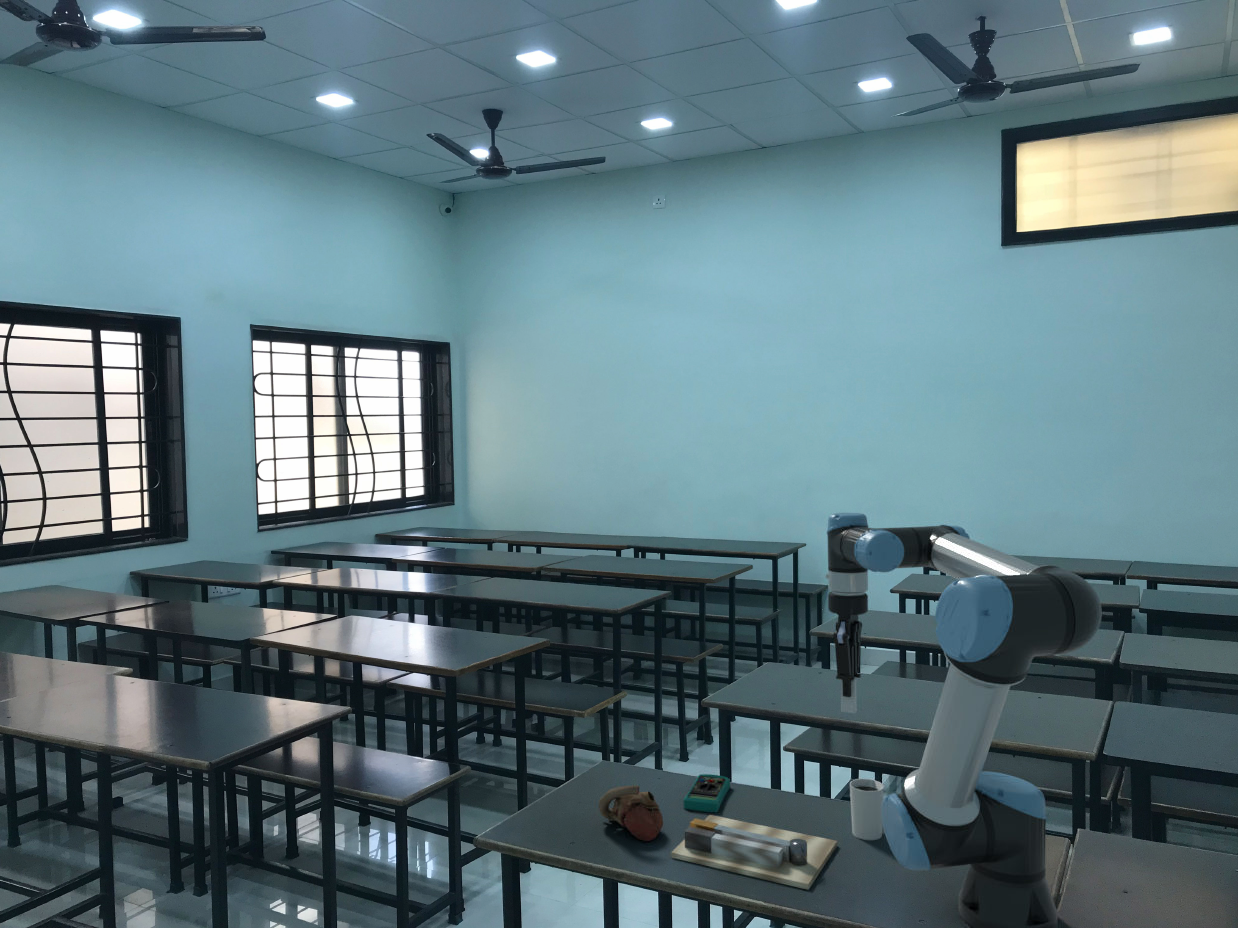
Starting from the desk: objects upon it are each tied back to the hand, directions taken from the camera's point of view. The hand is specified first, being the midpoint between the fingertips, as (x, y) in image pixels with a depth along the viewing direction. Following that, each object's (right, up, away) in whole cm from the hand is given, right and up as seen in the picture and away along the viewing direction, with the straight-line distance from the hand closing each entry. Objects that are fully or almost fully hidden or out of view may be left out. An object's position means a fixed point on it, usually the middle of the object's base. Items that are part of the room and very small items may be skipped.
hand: (848, 711), depth 176 cm
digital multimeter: (-25, -27, +25) cm, 44 cm away
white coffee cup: (+5, -26, +5) cm, 27 cm away
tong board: (-19, -27, -2) cm, 33 cm away
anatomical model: (-42, -27, +9) cm, 51 cm away
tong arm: (-20, -26, -3) cm, 33 cm away
